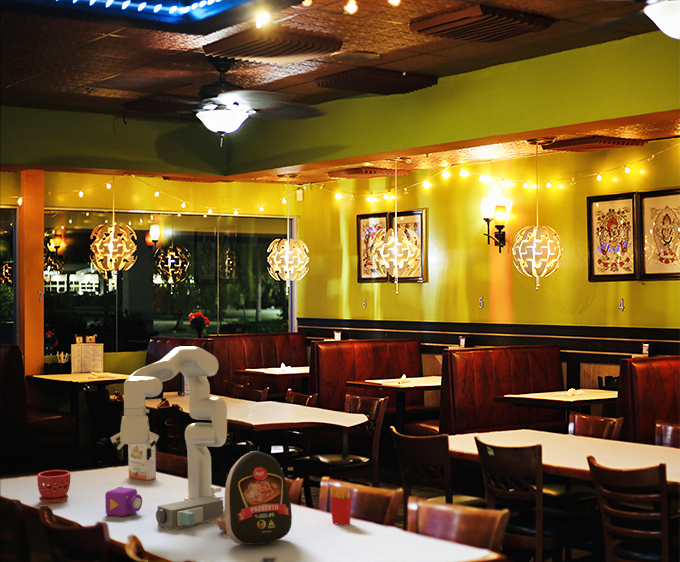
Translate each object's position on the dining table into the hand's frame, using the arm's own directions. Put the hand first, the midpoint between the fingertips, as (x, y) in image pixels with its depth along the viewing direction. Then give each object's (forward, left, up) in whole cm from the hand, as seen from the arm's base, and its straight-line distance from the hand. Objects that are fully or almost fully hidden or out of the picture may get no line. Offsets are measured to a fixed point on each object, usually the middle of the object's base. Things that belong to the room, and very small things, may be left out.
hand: (134, 459), depth 313 cm
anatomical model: (-27, +30, -25) cm, 47 cm away
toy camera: (-7, -22, -25) cm, 34 cm away
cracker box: (-47, -82, -25) cm, 98 cm away
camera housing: (-18, +8, -24) cm, 32 cm away
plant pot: (+3, -65, -25) cm, 69 cm away
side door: (-14, +17, -23) cm, 32 cm away
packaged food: (-19, +49, -25) cm, 58 cm away
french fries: (-55, +50, -25) cm, 79 cm away
